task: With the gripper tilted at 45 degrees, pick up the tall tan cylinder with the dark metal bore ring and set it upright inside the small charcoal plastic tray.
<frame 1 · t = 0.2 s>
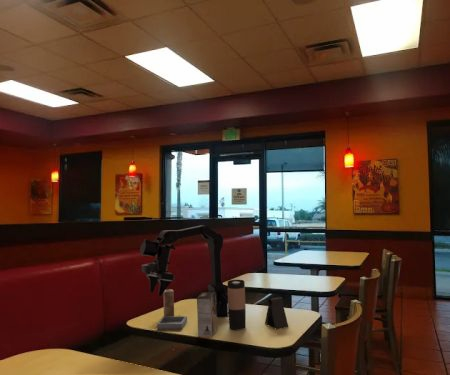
hand: (155, 293, 167), 15 cm above the table, tool pointing down, fingers open, 9 cm apart
tan cylinder: (169, 317, 183), on the table
door stopper: (276, 325, 167), on the table
coffee box: (207, 333, 160), on the table
tray: (172, 325, 171), on the table
travel mug: (237, 328, 165), on the table
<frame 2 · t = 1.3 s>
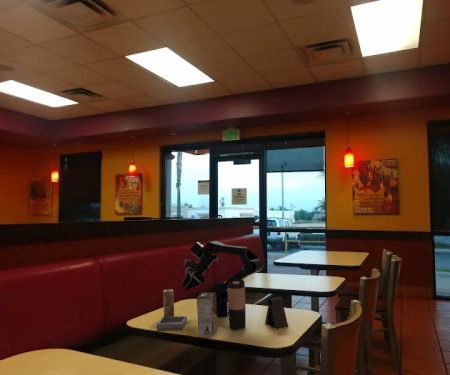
hand: (183, 288, 185), 13 cm above the table, tool tilted 45°, fingers open, 9 cm apart
nothing on the table moved.
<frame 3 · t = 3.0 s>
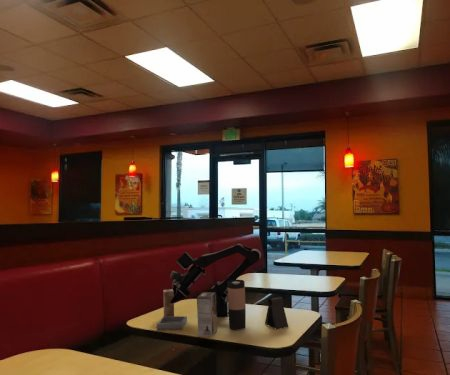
hand: (169, 300, 183), 8 cm above the table, tool tilted 45°, fingers open, 9 cm apart
nothing on the table moved.
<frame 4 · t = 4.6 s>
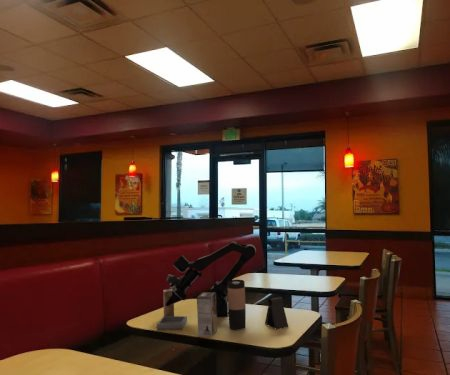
hand: (165, 304, 183), 7 cm above the table, tool tilted 45°, fingers closed on tan cylinder, 4 cm apart
tan cylinder: (169, 317, 183), on the table, touching gripper
everything else where it was.
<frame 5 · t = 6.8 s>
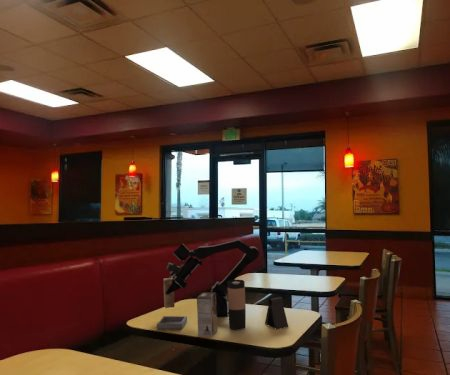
hand: (165, 292, 182), 12 cm above the table, tool tilted 45°, fingers closed on tan cylinder, 4 cm apart
tan cylinder: (169, 306, 182), point 6 cm above the table, touching gripper
everything else where it was.
when the fingers open (9 cm above the table, at t = 9.2 s): tan cylinder drops 1 cm, resting on tray.
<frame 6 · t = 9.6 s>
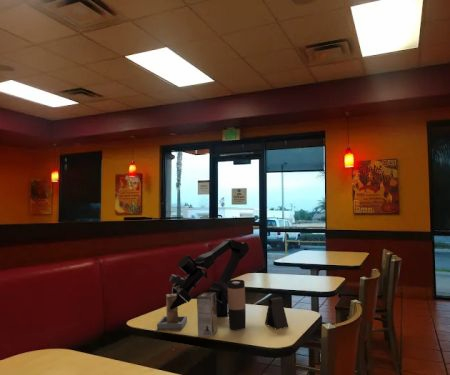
hand: (168, 306, 171), 9 cm above the table, tool tilted 45°, fingers open, 9 cm apart
tan cylinder: (172, 324, 171), point 1 cm above the table, touching tray
everything else where it was.
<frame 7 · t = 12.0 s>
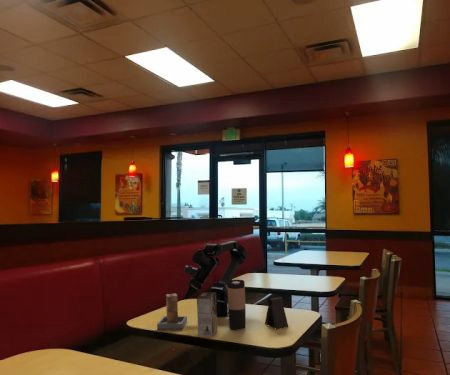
hand: (186, 296, 176), 11 cm above the table, tool tilted 40°, fingers open, 9 cm apart
nothing on the table moved.
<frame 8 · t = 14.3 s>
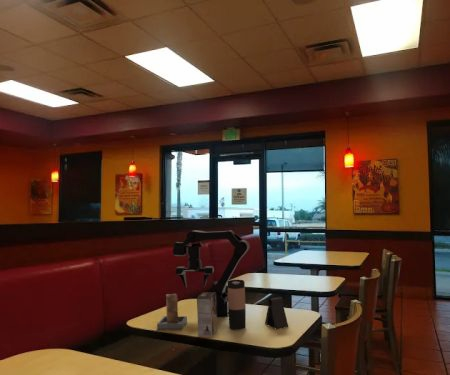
hand: (195, 287, 188), 13 cm above the table, tool pointing down, fingers open, 9 cm apart
nothing on the table moved.
at the end: tan cylinder 0.0 cm off-centre on the tray, point 0.6 cm above the tray's base; tan cylinder tilted 0°; the gripper is holding nothing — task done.
